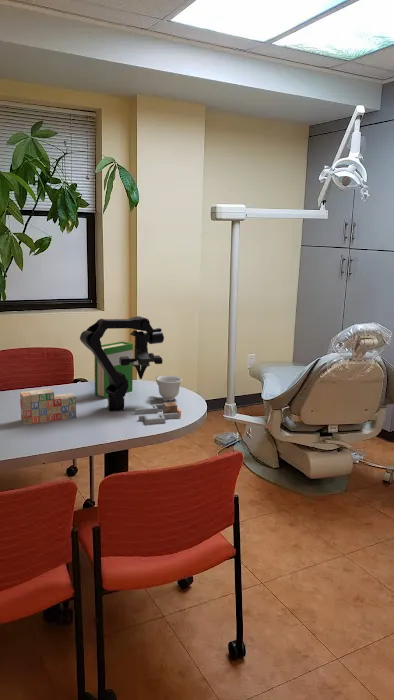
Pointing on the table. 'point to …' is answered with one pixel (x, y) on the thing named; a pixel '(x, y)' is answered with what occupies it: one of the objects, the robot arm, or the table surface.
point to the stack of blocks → (46, 406)
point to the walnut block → (169, 407)
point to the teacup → (168, 386)
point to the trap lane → (156, 409)
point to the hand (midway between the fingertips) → (140, 378)
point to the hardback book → (114, 354)
